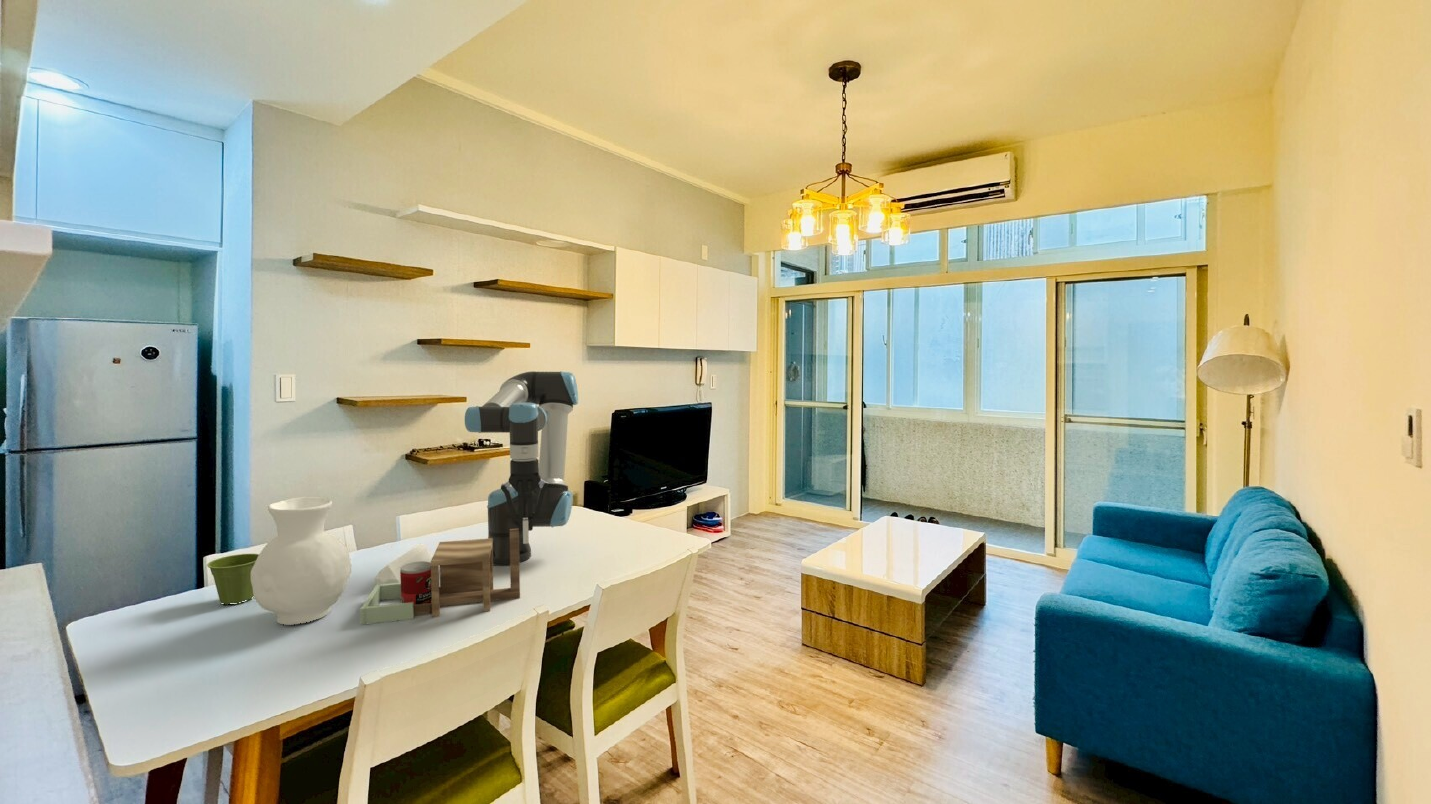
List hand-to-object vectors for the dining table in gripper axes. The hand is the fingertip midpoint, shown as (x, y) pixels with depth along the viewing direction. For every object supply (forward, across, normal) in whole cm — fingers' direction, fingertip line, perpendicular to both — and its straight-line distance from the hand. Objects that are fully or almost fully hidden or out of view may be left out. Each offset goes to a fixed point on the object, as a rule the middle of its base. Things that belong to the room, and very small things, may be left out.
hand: (525, 542), depth 170 cm
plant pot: (+15, -75, +18) cm, 79 cm away
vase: (+15, -54, 0) cm, 56 cm away
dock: (+15, -33, 0) cm, 37 cm away
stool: (+15, -16, 0) cm, 22 cm away
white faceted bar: (+16, -35, +25) cm, 46 cm away
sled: (+15, -17, 0) cm, 23 cm away
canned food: (+15, -28, 0) cm, 32 cm away
